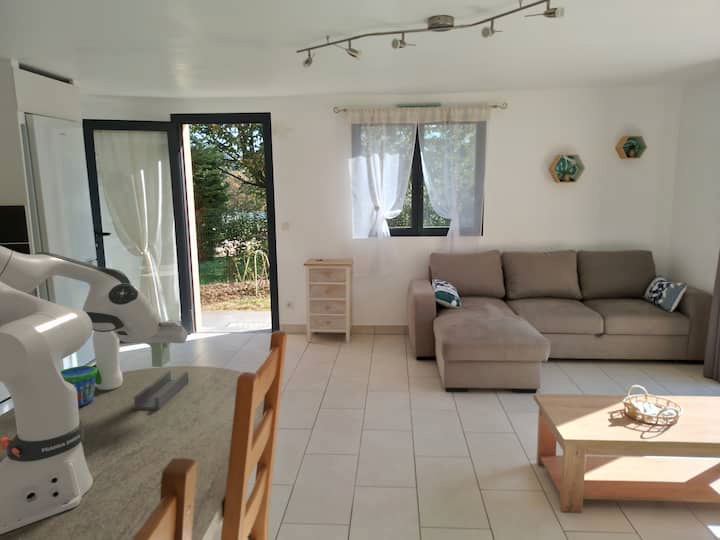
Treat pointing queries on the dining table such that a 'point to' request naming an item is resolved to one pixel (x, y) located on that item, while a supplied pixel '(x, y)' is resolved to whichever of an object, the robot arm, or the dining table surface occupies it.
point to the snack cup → (83, 381)
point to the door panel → (159, 354)
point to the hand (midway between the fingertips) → (161, 345)
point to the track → (160, 391)
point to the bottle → (107, 359)
